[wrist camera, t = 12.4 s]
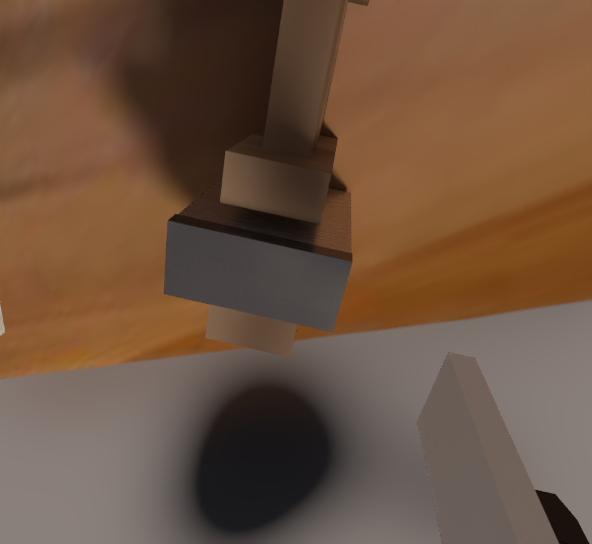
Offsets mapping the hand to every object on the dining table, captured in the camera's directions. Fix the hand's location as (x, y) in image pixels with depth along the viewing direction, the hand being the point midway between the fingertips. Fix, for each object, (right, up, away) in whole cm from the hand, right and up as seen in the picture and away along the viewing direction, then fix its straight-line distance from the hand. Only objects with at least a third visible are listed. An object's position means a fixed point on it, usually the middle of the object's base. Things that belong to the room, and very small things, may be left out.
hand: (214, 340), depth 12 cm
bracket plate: (+2, +6, +13) cm, 14 cm away
